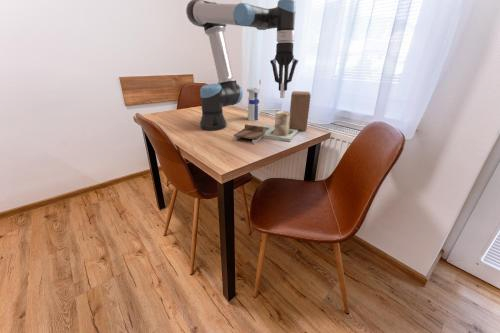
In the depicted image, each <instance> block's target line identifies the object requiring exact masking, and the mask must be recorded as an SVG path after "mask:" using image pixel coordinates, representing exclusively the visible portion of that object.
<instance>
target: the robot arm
mask: <svg viewBox="0 0 500 333" xmlns="http://www.w3.org/2000/svg"><path fill="white" fill-rule="evenodd" d="M185 11H186V17H187V19H188V21H189V22H190V23H192V25H194V26H197V27H200V28H203V30H204V32H205V33H204V34H205V35H207V36H208V39H209V44H210V48H211V51H212V52H211V53H212V56H213V57H212V58H213V60H214V61H213V62H214V66H215V70H216V75H217V79H218V81H217V83H208V84H204V85H202V86H201V87H200V89H199V90H200V92H199V93H200V105H201V112H202V113H201V114H202V115H201V118H200V123H199V125H200V129H202V130H205V131H219V130H223V129H225V128H226V127H227V122H226V118H225V115H224V113H223V111H224V110H223V108H224V107H229V106H235V105H237V104H239V103H241V101H242V98H243V95H244V94H243V93H244V92H243V89H242V87H241V86H240V84H238V83H237V80H236V79H235V78H234V76H233V72H232V67H231V61H230V57H229V53H228V52H229V51H228V48H227V43H226V38H225V34H224V33H225V31H226V27H227V25H228V26H229V25H231V26H238V27H239V26H240V27H248V28H249V27H250V28H255V29H256V30H258V31H266V30H270V29H276V42H277V43H276V44H275V45H276V49H275V56H274V58H273V59H271V60H270V64H271V66H272V67H271V68H272V72H273V77H274V82H275V83H277V84H278V91H280V96H279V97H280V99H285V94H286V92H287V90H288V83H291V82H292V79H293V76H294V74H295V70H296V66H297V65H298V63H299V59H296V58H295V56H294V43H293V42H294V41H295V40H294V38H295V22H296V21H295V20H296V13H297V12H296V0H278V1H277V6H276V7H272V8H265V7H261V6H256V5H252V4H249V3H246V2H240V3H217V2H215V1H214V2H212V1H208V0H207V1H206V0H190V1H189V2H188V3H187V6H186V10H185ZM291 63H292V64H291ZM277 64H278V67H277ZM290 64H291V67H290V70H289V66H290ZM289 71H290V72H289Z"/></svg>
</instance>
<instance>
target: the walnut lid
mask: <svg viewBox="0 0 500 333" xmlns="http://www.w3.org/2000/svg"><path fill="white" fill-rule="evenodd" d="M255 125H256V124H255ZM255 125H252V124H248V123H246V124H244V128H243V129H241V130H239V131H238V132H236V133H234V134H233V137H241V138H243V139H249V140H254V139H255V140H257V139H258V138H259V137H260V136H262V135H263V134H264V133H265V131H263V126H264V125H263V126H255Z"/></svg>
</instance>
